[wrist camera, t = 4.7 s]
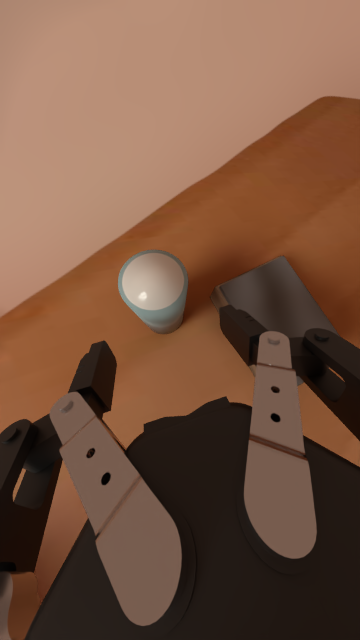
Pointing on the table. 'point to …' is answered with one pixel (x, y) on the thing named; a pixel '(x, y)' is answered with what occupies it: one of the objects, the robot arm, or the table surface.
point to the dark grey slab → (273, 300)
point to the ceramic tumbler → (155, 289)
